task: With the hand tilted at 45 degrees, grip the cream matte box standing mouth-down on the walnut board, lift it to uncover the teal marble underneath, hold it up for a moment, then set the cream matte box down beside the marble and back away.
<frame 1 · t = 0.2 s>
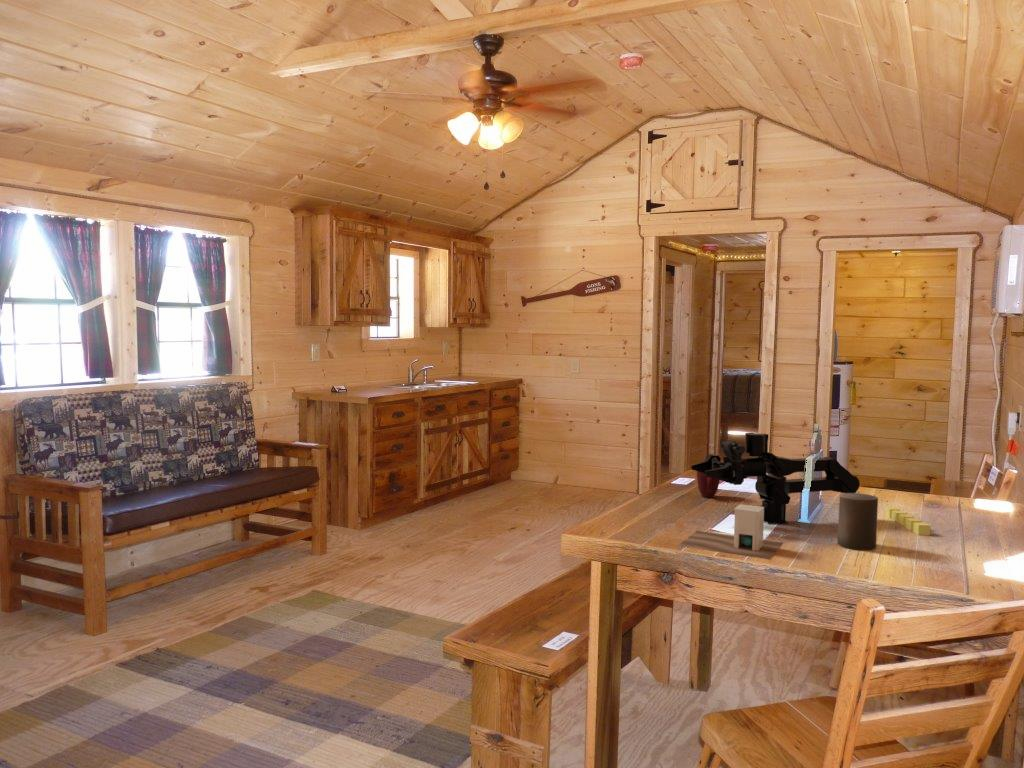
hand: (698, 470, 233), 17 cm above the table, tool horizontal, fingers open, 9 cm apart
mug: (708, 497, 273), on the table
board: (731, 545, 212), on the table
yellow stair block: (911, 526, 238), on the table
marble: (748, 541, 210), point 2 cm above the table, touching board
pillar candle: (856, 546, 214), on the table
cream matte box: (748, 546, 210), resting on board
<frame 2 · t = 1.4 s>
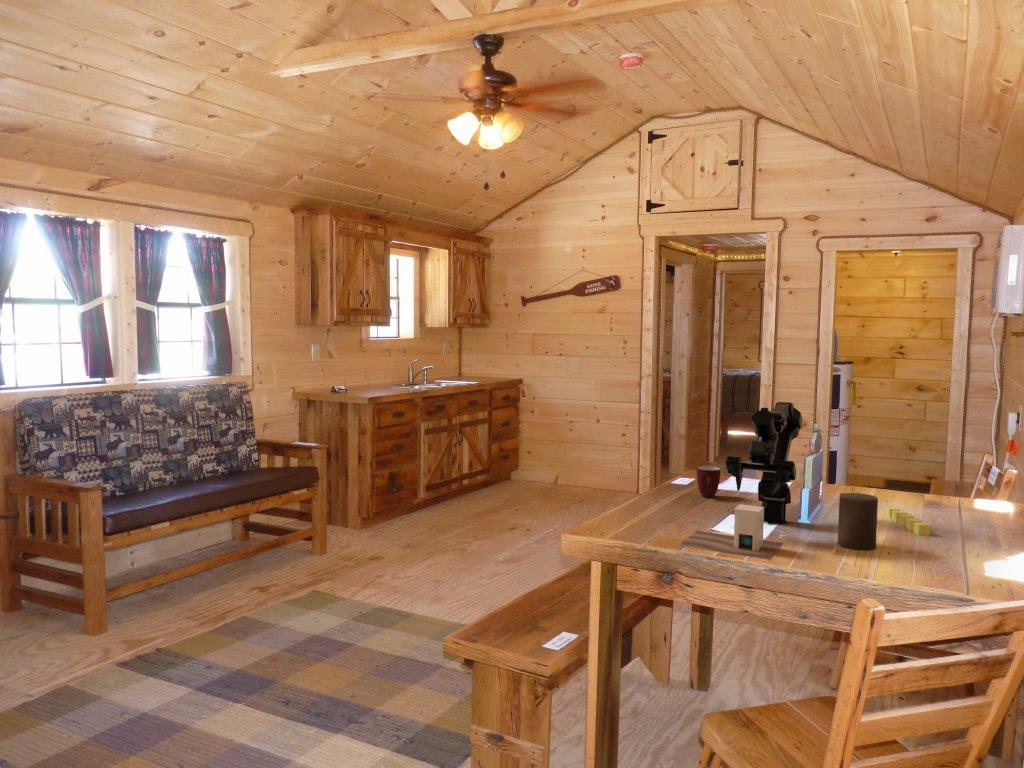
hand: (754, 492, 216), 14 cm above the table, tool tilted 45°, fingers open, 9 cm apart
nothing on the table moved.
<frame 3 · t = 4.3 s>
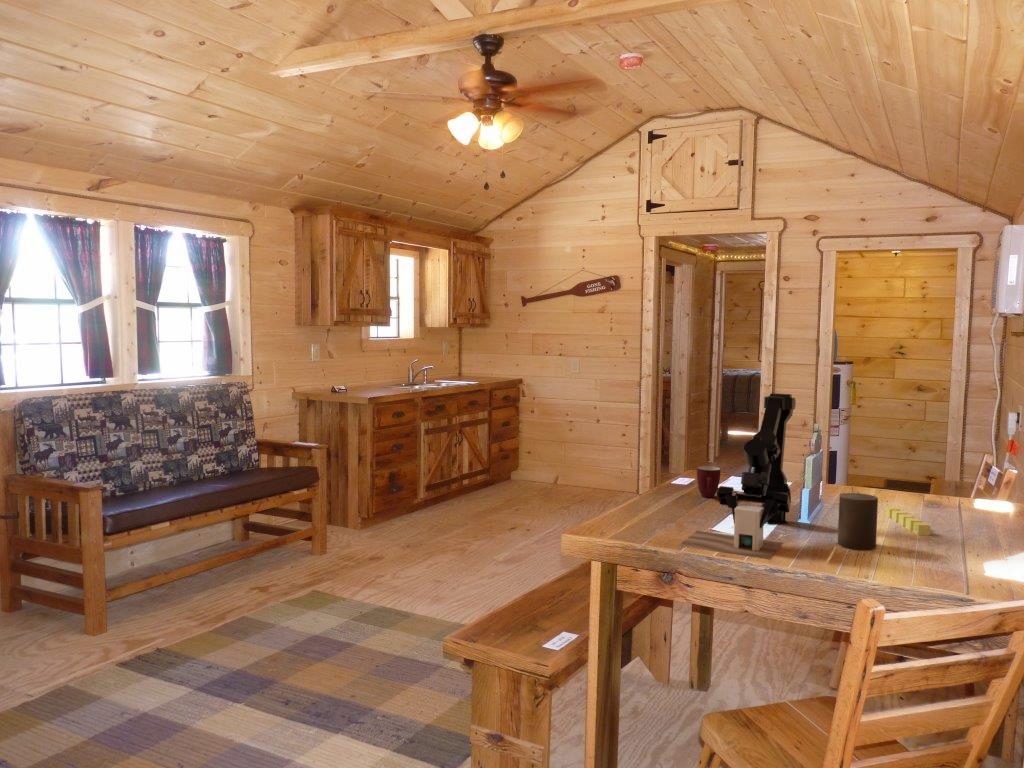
hand: (747, 525, 209), 7 cm above the table, tool tilted 45°, fingers closed on cream matte box, 6 cm apart
cream matte box: (748, 546, 210), point 1 cm above the table, touching board, gripper
everything else where it was.
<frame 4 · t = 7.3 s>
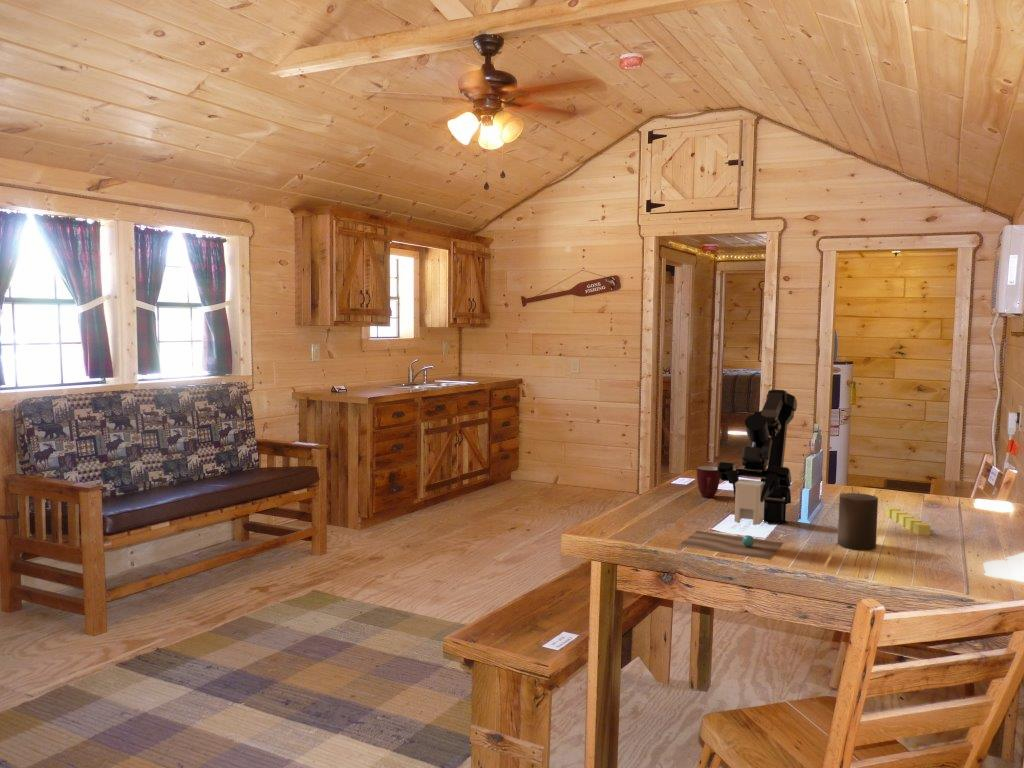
hand: (748, 499, 208), 13 cm above the table, tool tilted 45°, fingers closed on cream matte box, 6 cm apart
cream matte box: (748, 521, 210), point 7 cm above the table, touching gripper
everything else where it was.
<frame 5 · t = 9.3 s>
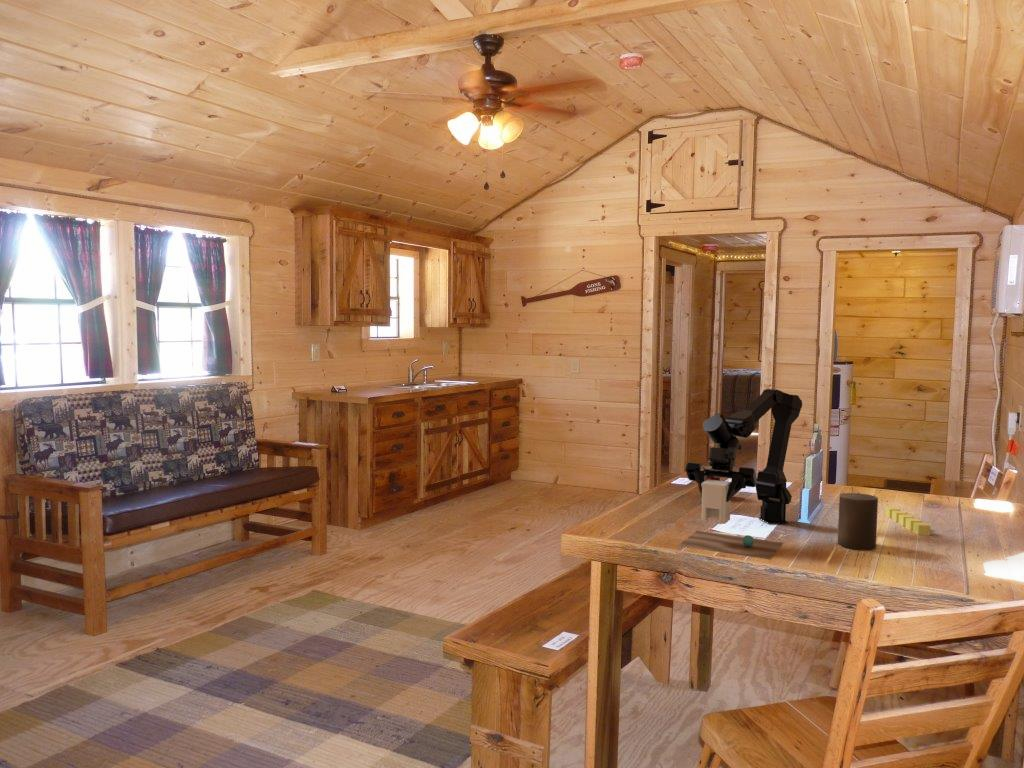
hand: (714, 499, 213), 12 cm above the table, tool tilted 45°, fingers closed on cream matte box, 6 cm apart
cream matte box: (715, 520, 214), point 6 cm above the table, touching gripper
everything else where it was.
when the fingers open (8 cm above the table, at t = 10.7 s): cream matte box drops 1 cm, resting on board.
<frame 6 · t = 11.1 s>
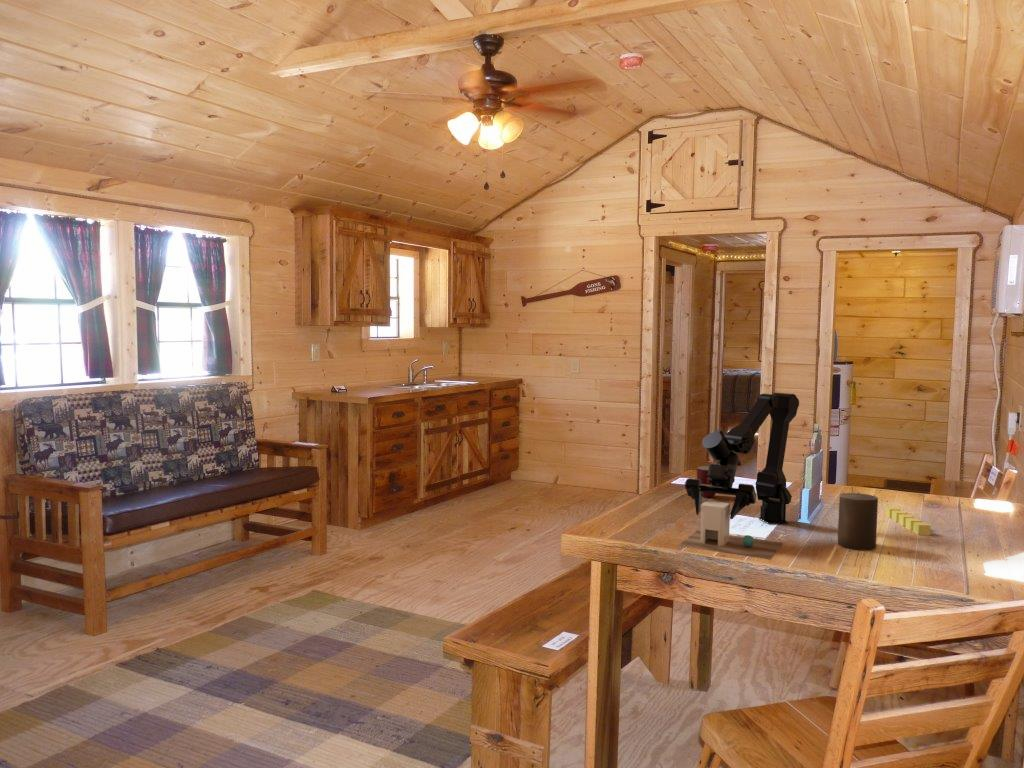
hand: (713, 516, 213), 8 cm above the table, tool tilted 45°, fingers open, 9 cm apart
cream matte box: (714, 541, 215), resting on board
everything else where it was.
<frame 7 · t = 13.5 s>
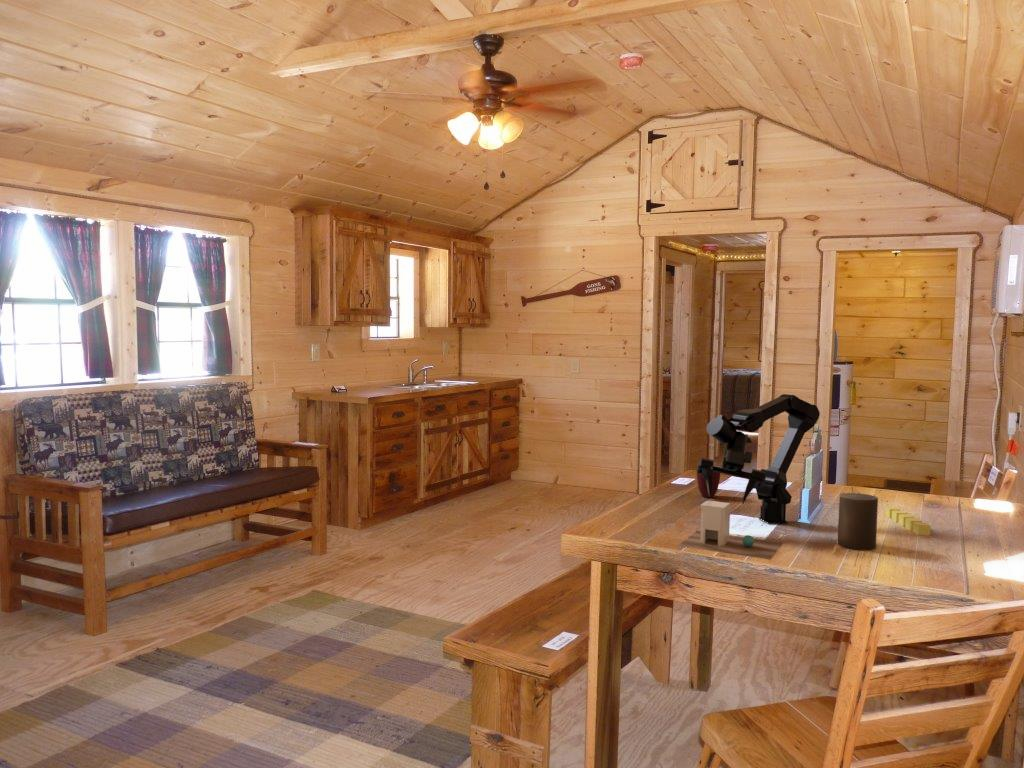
hand: (726, 499, 222), 11 cm above the table, tool tilted 35°, fingers open, 9 cm apart
nothing on the table moved.
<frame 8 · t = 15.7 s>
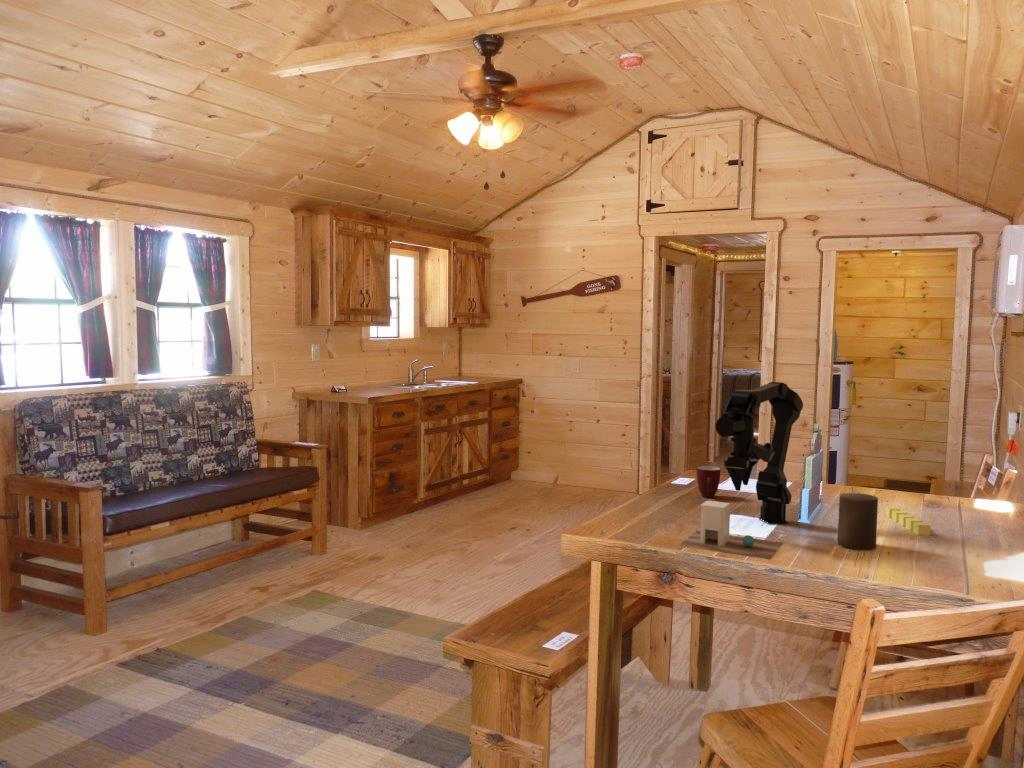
hand: (741, 487, 226), 13 cm above the table, tool pointing down, fingers open, 9 cm apart
nothing on the table moved.
at the end: cream matte box moved 9.0 cm from its start; cream matte box tilted 0°; marble moved 0.0 cm from its start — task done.
